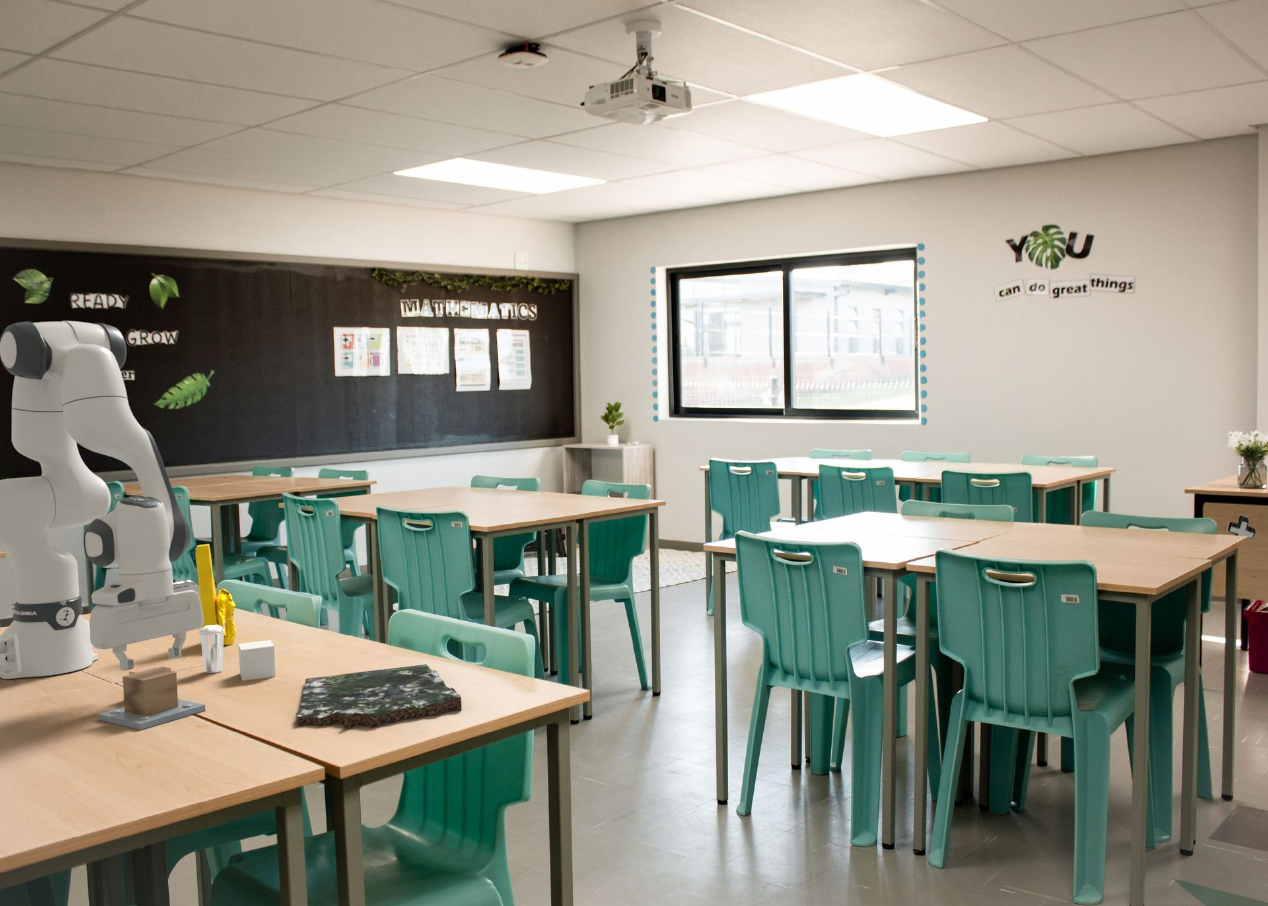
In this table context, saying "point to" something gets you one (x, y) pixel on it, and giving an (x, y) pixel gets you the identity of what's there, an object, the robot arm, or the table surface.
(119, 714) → the plate
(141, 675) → the block
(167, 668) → the block
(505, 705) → the table surface
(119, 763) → the table surface
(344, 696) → the topographical map
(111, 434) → the robot arm
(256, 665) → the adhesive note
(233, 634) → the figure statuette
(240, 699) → the table surface
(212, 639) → the milkshake
